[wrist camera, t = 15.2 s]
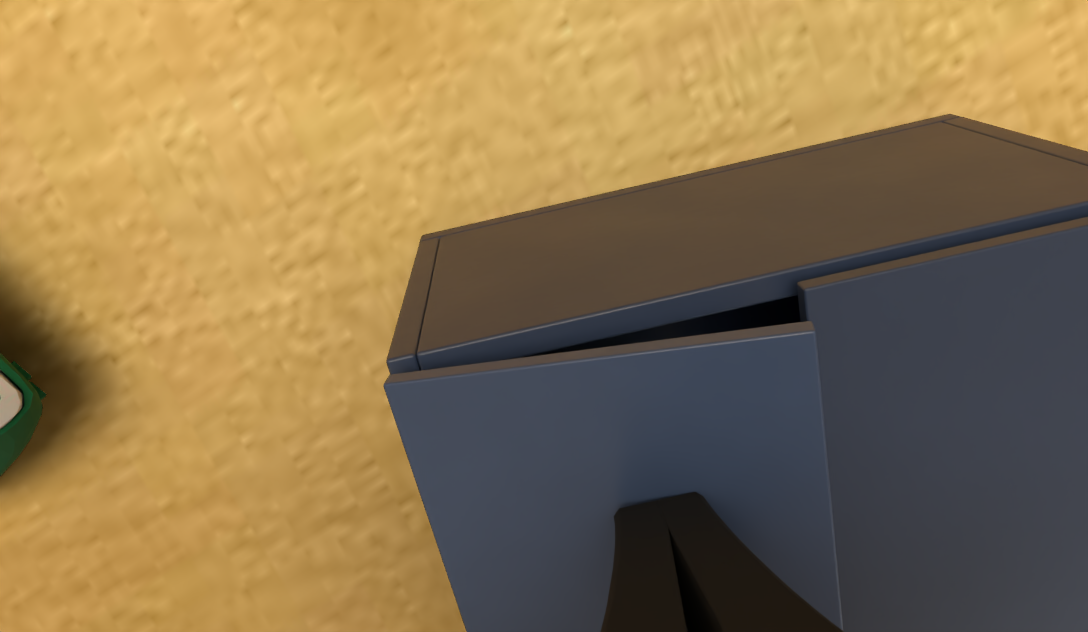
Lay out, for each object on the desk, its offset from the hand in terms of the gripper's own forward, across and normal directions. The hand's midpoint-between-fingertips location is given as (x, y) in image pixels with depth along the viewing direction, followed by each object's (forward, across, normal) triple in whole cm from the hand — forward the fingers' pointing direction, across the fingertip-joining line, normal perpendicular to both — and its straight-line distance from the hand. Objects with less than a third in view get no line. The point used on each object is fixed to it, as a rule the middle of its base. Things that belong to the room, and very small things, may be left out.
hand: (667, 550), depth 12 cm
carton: (+9, -3, +3) cm, 10 cm away
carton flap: (+1, +1, +3) cm, 3 cm away
